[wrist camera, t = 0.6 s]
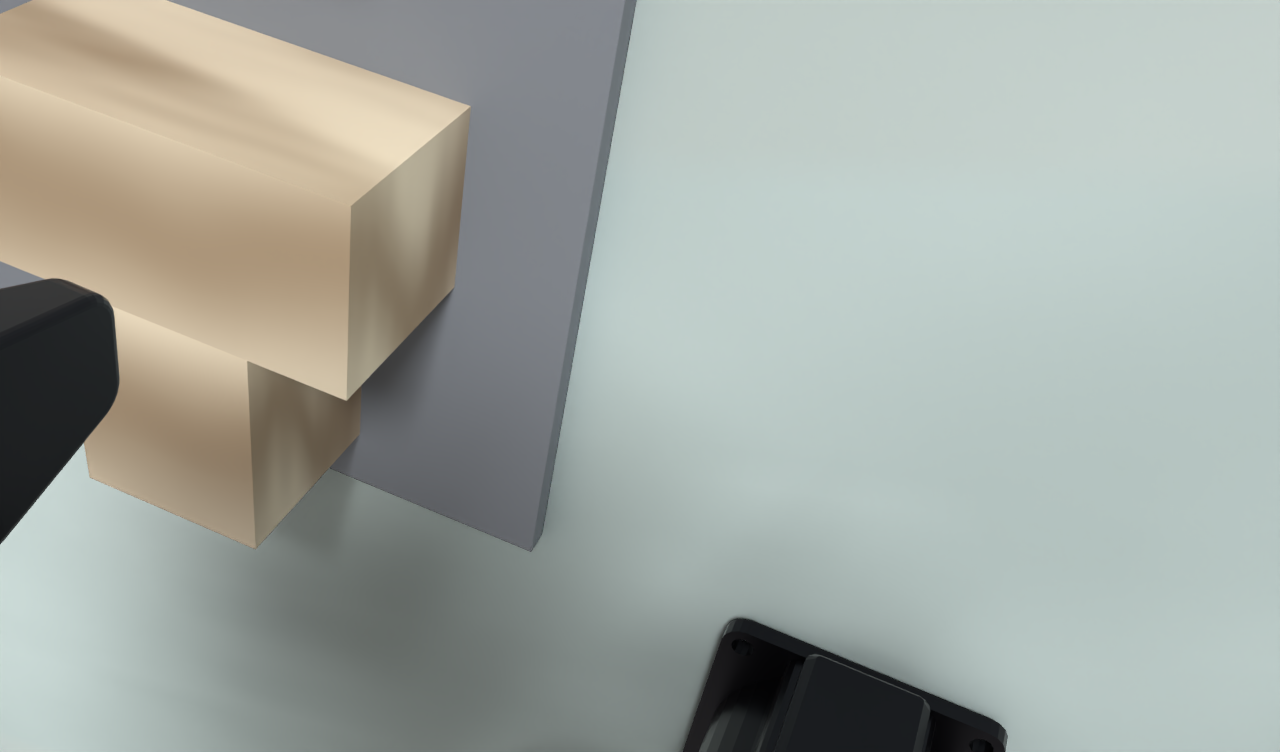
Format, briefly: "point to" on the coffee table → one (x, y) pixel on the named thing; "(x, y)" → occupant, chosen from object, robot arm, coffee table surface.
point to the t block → (224, 237)
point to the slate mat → (479, 237)
